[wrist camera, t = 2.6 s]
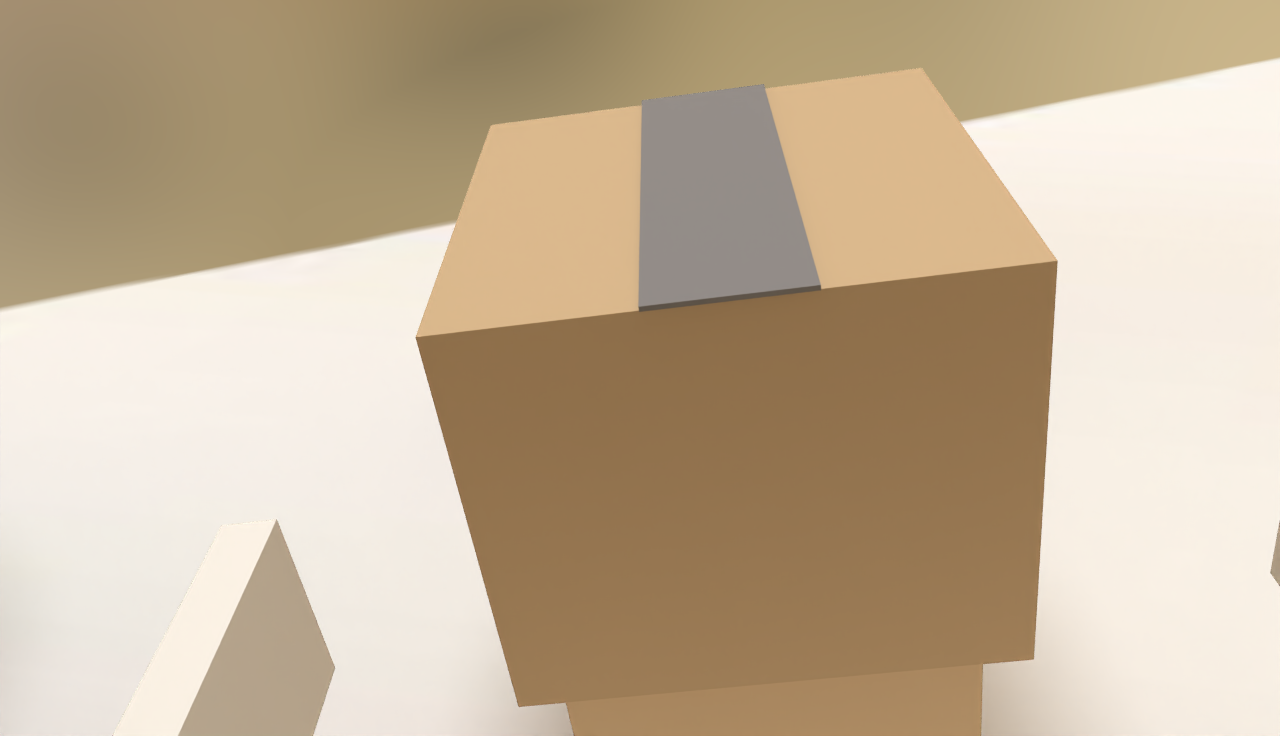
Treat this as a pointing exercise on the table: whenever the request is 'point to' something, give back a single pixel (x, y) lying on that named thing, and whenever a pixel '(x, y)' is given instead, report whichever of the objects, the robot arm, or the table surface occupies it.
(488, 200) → the brown cardboard block
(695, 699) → the tan tall box
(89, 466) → the table surface
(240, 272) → the table surface
